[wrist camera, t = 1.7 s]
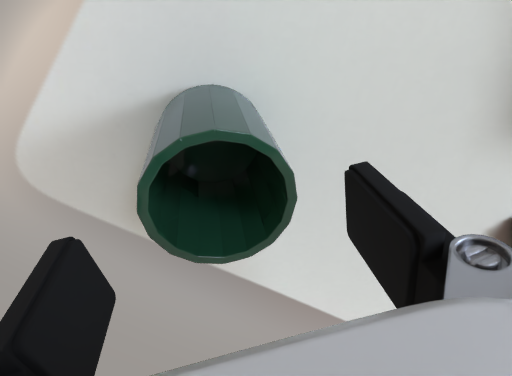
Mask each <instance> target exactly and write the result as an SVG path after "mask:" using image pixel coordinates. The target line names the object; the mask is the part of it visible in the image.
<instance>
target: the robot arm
mask: <svg viewBox="0 0 512 376" xmlns="http://www.w3.org/2000/svg"><path fill="white" fill-rule="evenodd" d="M345 197H346V220H347V232H348V236H349V238H350V240H351V241H352V243H353V244H354V246H355V247H356V249H357V250H358V252H359V253H360V255H361V256H362V258H363V259H364V260H365V262H366V263H367V265H368V266H369V268H370V269H371V271H372V272H373V274H374V275H375V277H376V278H377V280H378V281H379V283H380V284H381V286H382V287H383V289H384V290H385V292H386V293H387V295H388V296H389V298H390V299H391V301H392V302H393V304H394V305H395V307H396V308H397V309H394V310H390V311H386V312H382V313H378V314H374V315H371V316H367V317H363V318H359V319H355V320H351V321H347V322H344V323H340V324H337V325H332V326H329V327H325V328H321V329H318V330H314V331H310V332H307V333H303V334H299V335H296V336H292V337H288V338H285V339H281V340H278V341H274V342H270V343H267V344H263V345H259V346H255V347H252V348H248V349H245V350H241V351H237V352H234V353H230V354H227V355H223V356H219V357H216V358H212V359H209V360H205V361H201V362H198V363H194V364H190V365H187V366H184V367H180V368H176V369H173V370H169V371H165V372H162V373H158V374H155V375H151V376H512V248H511V247H510V246H508V245H507V244H505V243H504V242H502V241H499V240H497V239H495V238H492V237H488V236H484V235H476V234H469V235H462V236H459V237H454V236H453V235H452V234H451V233H450V232H449V231H448V230H446V229H445V228H444V227H443V226H442V225H441V224H440V223H438V222H437V221H436V220H435V219H434V218H433V217H432V216H430V215H429V214H428V213H427V212H426V211H425V210H424V209H422V208H421V207H420V206H419V205H418V204H417V203H416V202H414V201H413V200H412V199H411V198H410V197H409V196H408V195H406V194H405V193H404V192H402V191H400V190H399V189H398V188H397V187H395V186H394V185H393V184H392V183H391V182H390V181H389V180H387V179H386V178H385V177H384V176H383V175H382V174H381V173H380V172H378V171H377V170H376V169H375V168H374V167H373V166H372V165H370V164H369V163H368V162H361V163H358V164H354V165H350V166H349V170H347V171H345ZM115 300H116V297H115V292H114V290H113V289H112V287H111V286H110V284H109V283H108V281H107V279H106V278H105V276H104V275H103V274H102V272H101V270H100V269H99V267H98V266H97V264H96V263H95V261H94V260H93V258H92V257H91V255H90V254H89V252H88V251H87V249H86V247H85V246H84V244H83V243H82V242H81V240H79V239H75V238H73V237H67V238H63V239H59V240H55V241H52V242H51V243H50V244H49V246H48V247H47V249H46V251H45V252H44V254H43V255H42V257H41V258H40V260H39V262H38V263H37V265H36V267H35V268H34V270H33V271H32V273H31V274H30V276H29V277H28V279H27V281H26V282H25V284H24V285H23V287H22V288H21V290H20V292H19V293H18V295H17V296H16V298H15V299H14V301H13V302H12V304H11V306H10V307H9V309H8V310H7V312H6V313H5V315H4V317H3V318H2V320H1V321H0V376H94V375H95V371H96V368H97V364H98V361H99V357H100V353H101V350H102V346H103V343H104V340H105V336H106V332H107V329H108V325H109V322H110V318H111V314H112V311H113V308H114V304H115Z"/></svg>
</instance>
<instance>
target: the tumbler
mask: <svg viewBox="0 0 512 376" xmlns="http://www.w3.org/2000/svg"><path fill="white" fill-rule="evenodd" d="M296 202H297V192H296V185H295V177H294V173H293V171H292V169H291V167H290V165H289V164H288V162H287V160H286V159H285V157H284V155H283V153H282V152H281V150H280V148H279V147H278V145H277V143H276V141H275V140H274V138H273V136H272V135H271V133H270V131H269V129H268V128H267V126H266V124H265V123H264V121H263V119H262V118H261V116H260V115H259V113H258V112H257V110H256V108H255V107H254V106H253V104H252V103H251V102H250V101H249V100H248V99H247V98H246V97H244V96H243V95H242V94H240V93H239V92H237V91H235V90H233V89H230V88H228V87H224V86H220V85H201V86H196V87H193V88H190V89H188V90H186V91H183V92H182V93H180V94H179V95H177V96H176V97H175V98H174V99H173V100H172V101H171V102H170V103H169V104H168V105H167V107H166V108H165V110H164V111H163V114H162V116H161V118H160V120H159V122H158V124H157V127H156V130H155V133H154V136H153V139H152V142H151V145H150V148H149V151H148V154H147V157H146V160H145V163H144V166H143V169H142V172H141V175H140V179H139V182H138V185H137V214H138V216H139V218H140V220H141V222H142V224H143V226H144V228H145V230H146V232H147V234H148V236H150V238H151V239H152V240H154V241H155V242H156V243H157V244H159V245H160V246H161V247H162V248H163V249H165V250H166V251H167V252H168V253H171V254H172V255H174V256H177V257H181V258H183V259H186V260H189V261H192V262H195V263H196V262H197V263H212V264H225V263H229V262H233V261H237V260H241V259H244V258H248V257H250V256H253V255H254V254H256V253H258V252H259V251H261V250H263V249H264V248H266V247H267V246H269V245H271V244H272V243H273V242H274V241H275V240H276V239H277V238H278V237H279V235H280V234H281V233H282V232H283V231H284V229H285V228H286V227H287V226H288V225H289V223H290V221H291V217H292V214H293V211H294V208H295V205H296Z"/></svg>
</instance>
